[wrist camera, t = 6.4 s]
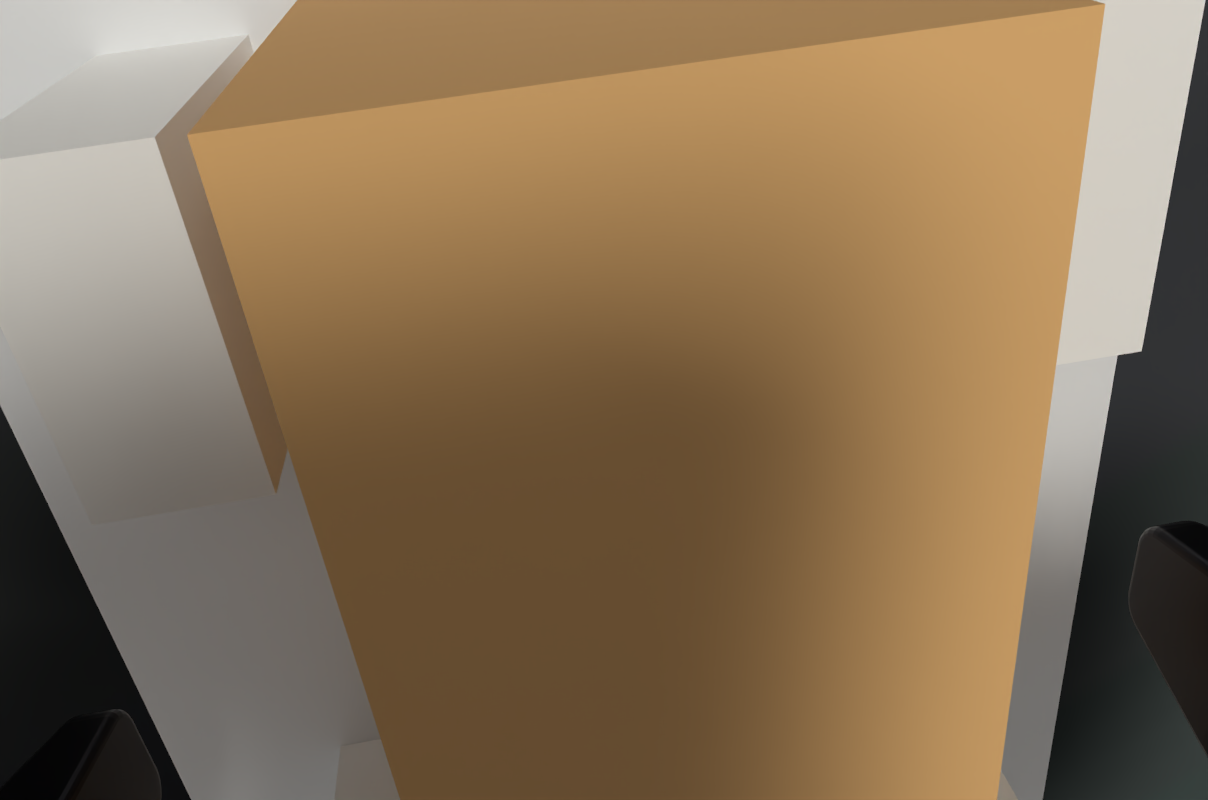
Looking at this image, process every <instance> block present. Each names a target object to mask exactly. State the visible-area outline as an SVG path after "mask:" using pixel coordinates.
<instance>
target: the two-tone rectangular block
mask: <svg viewBox="0 0 1208 800" xmlns="http://www.w3.org/2000/svg"><path fill="white" fill-rule="evenodd" d="M1104 10H1105V4H1104V3H1100V2H1097V1H1093V0H297V1H296V2H295V4H294V5H293V6H292V7H291V8H290V10H289V11H288V12H287V13H286V15H285V16H284V17H283V18H282V19H281V21H280V22H279V23H278V24H277V26H276V27H275V28H274V29H273V30H272V32H271V33H270V34H269V35H268V36H267V38H266V39H265V40H264V41H263V43H262V44H261V45H260V46H259V47H258V49H257V50H256V51H255V52H254V54H253V55H252V56H251V57H250V58H249V60H248V61H247V62H246V63H245V65H244V66H243V67H242V68H241V69H240V71H239V72H238V73H237V74H236V76H235V77H234V78H233V79H232V80H231V82H230V83H229V84H228V85H227V87H226V88H225V89H224V90H223V91H222V93H221V94H220V95H219V96H218V98H217V99H216V100H215V101H214V102H213V104H212V105H211V106H210V107H209V109H208V110H207V111H206V112H205V113H204V115H203V116H202V117H201V118H200V120H199V121H198V122H197V123H196V124H195V126H194V127H193V128H192V129H191V131H190V132H189V133H188V134H187V136H188V140H189V143H190V146H191V149H192V152H193V155H194V158H195V161H196V164H197V168H198V171H199V174H200V177H201V180H202V183H203V186H204V189H205V193H206V196H207V199H208V202H209V205H210V208H211V211H212V214H213V218H214V221H215V224H216V227H217V230H218V233H219V236H220V239H221V242H222V246H223V249H224V252H225V255H226V258H227V261H228V264H229V267H230V271H231V274H232V277H233V280H234V283H235V286H236V289H237V292H238V295H239V299H240V302H241V305H242V308H243V311H244V314H245V317H246V320H247V324H248V327H249V330H250V333H251V336H252V339H253V342H254V345H255V348H256V352H257V355H258V358H259V361H260V364H261V367H262V370H263V373H264V377H265V380H266V383H267V386H268V389H269V392H270V395H271V398H272V401H273V405H274V408H275V411H276V414H277V417H278V420H279V423H280V426H281V430H282V433H283V436H284V439H285V442H286V445H287V448H288V451H289V454H290V458H291V461H292V464H293V467H294V470H295V473H296V476H297V479H298V483H299V486H300V489H301V492H302V495H303V498H304V501H305V504H306V507H307V511H308V514H309V517H310V520H311V523H312V526H313V529H314V532H315V536H316V539H317V542H318V545H319V548H320V551H321V554H322V557H323V560H324V564H325V567H326V570H327V573H328V576H329V579H330V582H331V585H332V589H333V592H334V595H335V598H336V601H337V604H338V607H339V610H340V613H341V617H342V620H343V623H344V626H345V629H346V632H347V635H348V638H349V642H350V645H351V648H352V651H353V654H354V657H355V660H356V663H357V666H358V670H359V673H360V676H361V679H362V682H363V685H364V688H365V691H366V695H367V698H368V701H369V704H370V707H371V710H372V713H373V716H374V719H375V723H376V726H377V729H378V732H379V735H380V738H381V741H382V744H383V748H384V751H385V754H386V757H387V760H388V763H389V766H390V769H391V773H392V776H393V779H394V782H395V785H396V788H397V791H398V794H399V797H400V800H997V795H998V788H999V781H1000V773H1001V766H1002V759H1003V751H1004V744H1005V737H1006V729H1007V722H1008V715H1009V707H1010V700H1011V693H1012V685H1013V678H1014V670H1015V663H1016V656H1017V648H1018V641H1019V634H1020V626H1021V619H1022V612H1023V604H1024V597H1025V590H1026V582H1027V575H1028V568H1029V560H1030V553H1031V546H1032V538H1033V531H1034V524H1035V516H1036V509H1037V502H1038V494H1039V487H1040V480H1041V472H1042V465H1043V458H1044V450H1045V443H1046V436H1047V428H1048V421H1049V414H1050V406H1051V399H1052V392H1053V384H1054V377H1055V370H1056V362H1057V355H1058V348H1059V340H1060V333H1061V326H1062V318H1063V311H1064V303H1065V296H1066V289H1067V281H1068V274H1069V267H1070V259H1071V252H1072V245H1073V237H1074V230H1075V223H1076V215H1077V208H1078V201H1079V193H1080V186H1081V179H1082V171H1083V164H1084V157H1085V149H1086V142H1087V135H1088V127H1089V120H1090V113H1091V105H1092V98H1093V91H1094V83H1095V76H1096V69H1097V61H1098V54H1099V47H1100V39H1101V32H1102V25H1103V17H1104Z"/></svg>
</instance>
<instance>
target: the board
mask: <svg viewBox="0 0 1208 800" xmlns="http://www.w3.org/2000/svg"><path fill="white" fill-rule="evenodd" d="M296 1H297V0H0V406H1V408H2V410H3V412H4V414H5V416H6V418H7V420H8V423H9V425H10V427H11V429H12V431H13V433H14V435H15V437H16V439H17V441H18V443H19V445H20V447H21V449H22V451H23V454H24V456H25V458H26V460H27V462H28V464H29V466H30V468H31V470H32V472H33V474H34V476H35V478H36V480H37V482H38V484H39V487H40V489H41V491H42V493H43V495H44V497H45V499H46V501H47V503H48V505H49V507H50V509H51V511H52V513H53V515H54V518H55V520H56V522H57V524H58V526H59V528H60V530H61V532H62V534H63V536H64V538H65V540H66V542H67V544H68V546H69V549H70V551H71V553H72V555H73V557H74V559H75V561H76V563H77V565H78V567H79V569H80V571H81V573H82V575H83V577H84V579H85V582H86V584H87V586H88V588H89V590H90V592H91V594H92V596H93V598H94V600H95V602H96V604H97V606H98V608H99V610H100V613H101V615H102V617H103V619H104V621H105V623H106V625H107V627H108V629H109V631H110V633H111V635H112V637H113V639H114V641H115V644H116V646H117V648H118V650H119V652H120V654H121V656H122V658H123V660H124V662H125V664H126V666H127V668H128V670H129V672H130V675H131V677H132V679H133V681H134V683H135V685H136V687H137V689H138V691H139V693H140V695H141V697H142V699H143V701H144V703H145V705H146V708H147V710H148V712H149V714H150V716H151V718H152V720H153V722H154V724H155V726H156V728H157V730H158V732H159V734H160V736H161V739H162V741H163V743H164V745H165V747H166V749H167V751H168V753H169V755H170V757H171V759H172V761H173V763H174V765H175V767H176V770H177V772H178V774H179V776H180V778H181V780H182V782H183V784H184V786H185V788H186V790H187V792H188V794H189V796H190V798H191V800H400V797H399V794H398V791H397V788H396V785H395V782H394V779H393V776H392V773H391V769H390V766H389V763H388V760H387V757H386V754H385V751H384V748H383V744H382V741H381V738H380V735H379V732H378V729H377V726H376V723H375V719H374V716H373V713H372V710H371V707H370V704H369V701H368V698H367V695H366V691H365V688H364V685H363V682H362V679H361V676H360V673H359V670H358V666H357V663H356V660H355V657H354V654H353V651H352V648H351V645H350V642H349V638H348V635H347V632H346V629H345V626H344V623H343V620H342V617H341V613H340V610H339V607H338V604H337V601H336V598H335V595H334V592H333V589H332V585H331V582H330V579H329V576H328V573H327V570H326V567H325V564H324V560H323V557H322V554H321V551H320V548H319V545H318V542H317V539H316V536H315V532H314V529H313V526H312V523H311V520H310V517H309V514H308V511H307V507H306V504H305V501H304V498H303V495H302V492H301V489H300V486H299V483H298V479H297V476H296V473H295V470H294V467H293V464H292V461H291V458H290V454H289V451H288V448H287V445H286V442H285V439H284V436H283V433H282V430H281V426H280V423H279V420H278V417H277V414H276V411H275V408H274V405H273V401H272V398H271V395H270V392H269V389H268V386H267V383H266V380H265V377H264V373H263V370H262V367H261V364H260V361H259V358H258V355H257V352H256V348H255V345H254V342H253V339H252V336H251V333H250V330H249V327H248V324H247V320H246V317H245V314H244V311H243V308H242V305H241V302H240V299H239V295H238V292H237V289H236V286H235V283H234V280H233V277H232V274H231V271H230V267H229V264H228V261H227V258H226V255H225V252H224V249H223V246H222V242H221V239H220V236H219V233H218V230H217V227H216V224H215V221H214V218H213V214H212V211H211V208H210V205H209V202H208V199H207V196H206V193H205V189H204V186H203V183H202V180H201V177H200V174H199V171H198V168H197V164H196V161H195V158H194V155H193V152H192V149H191V146H190V143H189V140H188V136H187V134H188V133H189V132H190V131H191V129H192V128H193V127H194V126H195V124H196V123H197V122H198V121H199V120H200V118H201V117H202V116H203V115H204V113H205V112H206V111H207V110H208V109H209V107H210V106H211V105H212V104H213V102H214V101H215V100H216V99H217V98H218V96H219V95H220V94H221V93H222V91H223V90H224V89H225V88H226V87H227V85H228V84H229V83H230V82H231V80H232V79H233V78H234V77H235V76H236V74H237V73H238V72H239V71H240V69H241V68H242V67H243V66H244V65H245V63H246V62H247V61H248V60H249V58H250V57H251V56H252V55H253V54H254V52H255V51H256V50H257V49H258V47H259V46H260V45H261V44H262V43H263V41H264V40H265V39H266V38H267V36H268V35H269V34H270V33H271V32H272V30H273V29H274V28H275V27H276V26H277V24H278V23H279V22H280V21H281V19H282V18H283V17H284V16H285V15H286V13H287V12H288V11H289V10H290V8H291V7H292V6H293V5H294V4H295V2H296ZM1093 1H1097V2H1100V3H1104V4H1105V10H1104V17H1103V25H1102V32H1101V39H1100V47H1099V54H1098V61H1097V69H1096V76H1095V83H1094V91H1093V98H1092V105H1091V113H1090V120H1089V127H1088V135H1087V142H1086V149H1085V157H1084V164H1083V171H1082V179H1081V186H1080V193H1079V201H1078V208H1077V215H1076V223H1075V230H1074V237H1073V245H1072V252H1071V259H1070V267H1069V274H1068V281H1067V289H1066V296H1065V303H1064V311H1063V318H1062V326H1061V333H1060V340H1059V348H1058V355H1057V362H1056V370H1055V377H1054V384H1053V392H1052V399H1051V406H1050V414H1049V421H1048V428H1047V436H1046V443H1045V450H1044V458H1043V465H1042V472H1041V480H1040V487H1039V494H1038V502H1037V509H1036V516H1035V524H1034V531H1033V538H1032V546H1031V553H1030V560H1029V568H1028V575H1027V582H1026V590H1025V597H1024V604H1023V612H1022V619H1021V626H1020V634H1019V641H1018V648H1017V656H1016V663H1015V670H1014V678H1013V685H1012V693H1011V700H1010V707H1009V715H1008V722H1007V729H1006V737H1005V744H1004V751H1003V759H1002V766H1001V773H1000V781H999V788H998V795H997V800H1043V794H1044V788H1045V782H1046V777H1047V771H1048V765H1049V759H1050V753H1051V747H1052V741H1053V735H1054V729H1055V723H1056V717H1057V711H1058V705H1059V699H1060V693H1061V687H1062V682H1063V676H1064V670H1065V664H1066V658H1067V652H1068V646H1069V640H1070V634H1071V628H1072V622H1073V616H1074V610H1075V604H1076V598H1077V592H1078V587H1079V581H1080V575H1081V569H1082V563H1083V557H1084V551H1085V545H1086V539H1087V533H1088V527H1089V521H1090V515H1091V509H1092V503H1093V498H1094V492H1095V486H1096V480H1097V474H1098V468H1099V462H1100V456H1101V450H1102V444H1103V438H1104V432H1105V426H1106V420H1107V414H1108V408H1109V403H1110V397H1111V391H1112V385H1113V379H1114V373H1115V367H1116V361H1117V355H1121V354H1127V353H1133V352H1139V351H1142V346H1143V341H1144V335H1145V330H1146V324H1147V319H1148V313H1149V308H1150V302H1151V297H1152V291H1153V286H1154V280H1155V275H1156V269H1157V264H1158V258H1159V253H1160V247H1161V242H1162V236H1163V231H1164V225H1165V220H1166V214H1167V209H1168V203H1169V198H1170V192H1171V187H1172V181H1173V176H1174V170H1175V165H1176V159H1177V154H1178V148H1179V143H1180V137H1181V132H1182V126H1183V121H1184V115H1185V110H1186V104H1187V99H1188V93H1189V88H1190V82H1191V77H1192V71H1193V66H1194V60H1195V55H1196V49H1197V44H1198V38H1199V33H1200V27H1201V22H1202V16H1203V11H1204V5H1205V0H1093Z"/></svg>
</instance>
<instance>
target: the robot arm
mask: <svg viewBox="0 0 1208 800" xmlns="http://www.w3.org/2000/svg"><path fill="white" fill-rule="evenodd" d="M1128 606H1129V611H1130V614H1131V617H1132V620H1133V622H1134V624H1135V626H1136V628H1137V630H1138V632H1139V634H1140V636H1141V637H1142V639H1143V641H1144V643H1145V645H1146V647H1147V648H1148V650H1149V652H1150V654H1151V656H1152V658H1153V659H1154V661H1155V663H1156V665H1157V667H1158V668H1159V670H1160V672H1161V674H1162V676H1163V678H1164V679H1165V681H1166V683H1167V685H1168V687H1169V689H1170V690H1171V692H1172V694H1173V696H1174V698H1175V700H1176V701H1177V703H1178V705H1179V707H1180V709H1181V710H1182V712H1183V714H1184V716H1185V718H1186V720H1187V721H1188V723H1189V725H1190V727H1191V729H1192V731H1193V732H1194V734H1195V736H1196V738H1197V740H1198V742H1199V743H1200V745H1201V747H1202V749H1203V750H1204V752H1205V754H1206V756H1207V757H1208V526H1205V525H1203V524H1200V523H1198V522H1194V521H1180V522H1175V523H1169V524H1163V525H1158V526H1153V527H1150V528H1148V529H1146V530H1145V531H1144V532H1143V534H1142V535H1141V536H1140V540H1139V543H1138V548H1137V553H1136V558H1135V563H1134V568H1133V573H1132V578H1131V583H1130V588H1129V593H1128ZM0 800H161V781H160V777H159V773H158V770H157V768H156V766H155V764H154V762H153V760H152V758H151V756H150V754H149V752H148V750H147V748H146V746H145V744H144V742H143V740H142V738H141V736H140V734H139V732H138V730H137V728H136V726H135V724H134V722H133V720H132V719H131V717H130V716H129V714H127V713H126V712H125V711H123V710H119V709H112V710H106V711H100V712H95V713H89V714H83V715H79V716H76V717H73V718H72V719H70V720H69V721H68V722H66V723H65V724H64V725H63V726H62V727H61V728H60V729H59V730H58V731H57V732H56V733H55V734H54V735H53V736H52V737H51V738H50V739H49V740H48V741H47V742H46V743H45V744H44V745H43V746H42V747H41V748H40V749H39V750H38V751H37V752H36V753H35V754H34V755H33V756H32V757H31V758H30V759H29V760H28V761H27V762H26V763H25V764H24V765H23V766H22V767H21V768H20V769H19V770H18V771H17V772H16V773H15V774H14V775H13V776H12V777H11V778H10V779H9V780H8V781H7V782H6V783H5V784H4V785H3V786H2V787H1V788H0Z"/></svg>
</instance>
